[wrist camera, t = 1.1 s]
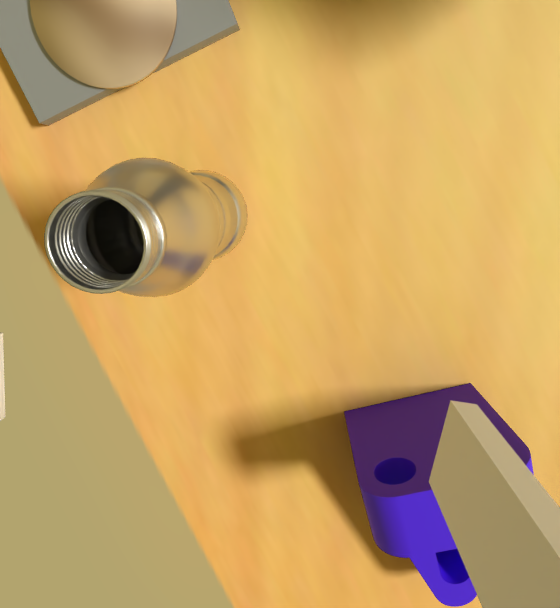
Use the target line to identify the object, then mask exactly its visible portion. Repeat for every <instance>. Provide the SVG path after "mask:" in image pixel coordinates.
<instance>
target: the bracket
mask: <svg viewBox="0 0 560 608" xmlns="http://www.w3.org/2000/svg"><path fill="white" fill-rule="evenodd" d="M450 400H451V401H458V402H464V403H471V404H477V405H478V406H479V408H480V409H481V410H482V411H483V413H484V414H485V415H486V416H487V418H488V419H489V420H490V421H491V423H492V424H493V425H494V426H495V428H496V429H497V430H498V431H499V433H500V434H501V435H502V436H503V438H504V439H505V440H506V441H507V443H508V444H509V445H510V446H511V447H512V449H513V450H514V451H515V452H516V454H517V455H518V456H519V457H520V459H521V460H522V461H523V462H524V464H525V465H526V466H527V467H528V469H529V470H530V471H531V472H532V474H533V467H532V461H531V455H530V451H529V449H528V447H527V446H526V445H525V444H524V442H523V441H522V440H521V439H520V438H519V437H518V436H517V435H516V433H515V432H514V431H513V430H512V429H511V428H510V427H509V426H508V425H507V423H506V422H505V421H504V420H503V419H502V418H501V417H500V416H499V414H498V413H497V412H496V411H495V410H494V409H493V408H492V407H491V406H490V404H489V403H488V402H487V401H486V400H485V399H484V398H483V397H482V395H481V394H480V393H479V392H478V391H477V390H476V389H475V388H474V387H473V385H472V384H471V383H468V384H464V385H459V386H455V387H451V388H446V389H442V390H437V391H433V392H428V393H424V394H420V395H415V396H411V397H406V398H402V399H398V400H393V401H389V402H384V403H380V404H375V405H371V406H367V407H362V408H358V409H353V410H349V411H345V412H344V414H345V419H346V424H347V428H348V433H349V438H350V443H351V448H352V453H353V458H354V462H355V467H356V472H357V477H358V482H359V485H360V489H361V493H362V497H363V501H364V504H365V508H366V512H367V516H368V519H369V523H370V527H371V531H372V535H373V538H374V541H375V543H376V544H377V546H378V547H379V548H380V549H381V550H382V551H384V552H385V553H387V554H390V555H392V556H396V557H403V558H408V557H409V558H410V559H411V561H412V562H413V564H414V565H415V567H416V568H417V570H418V571H419V573H420V574H421V576H422V577H423V579H424V580H425V582H426V583H427V585H428V586H429V588H430V589H431V591H432V592H433V594H434V595H435V597H436V598H437V599H438V600H439V601H440V602H441V603H443V604H445V605H448V606H462V605H465V604H467V603H469V602H471V601H472V600H473V599H474V598H475V597H476V595H477V593H476V591H475V589H474V586H473V584H472V582H471V579H470V577H469V575H468V572H467V570H466V568H465V565H464V563H463V561H462V558H461V556H460V554H459V551H458V549H457V547H456V544H455V542H454V540H453V537H452V535H451V533H450V530H449V528H448V526H447V523H446V521H445V519H444V516H443V514H442V512H441V509H440V507H439V505H438V502H437V500H436V498H435V495H434V493H433V491H432V488H431V486H430V484H429V479H430V475H431V471H432V468H433V464H434V460H435V456H436V453H437V449H438V445H439V441H440V438H441V434H442V430H443V426H444V423H445V419H446V415H447V412H448V408H449V404H450ZM533 475H534V474H533Z"/></svg>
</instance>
